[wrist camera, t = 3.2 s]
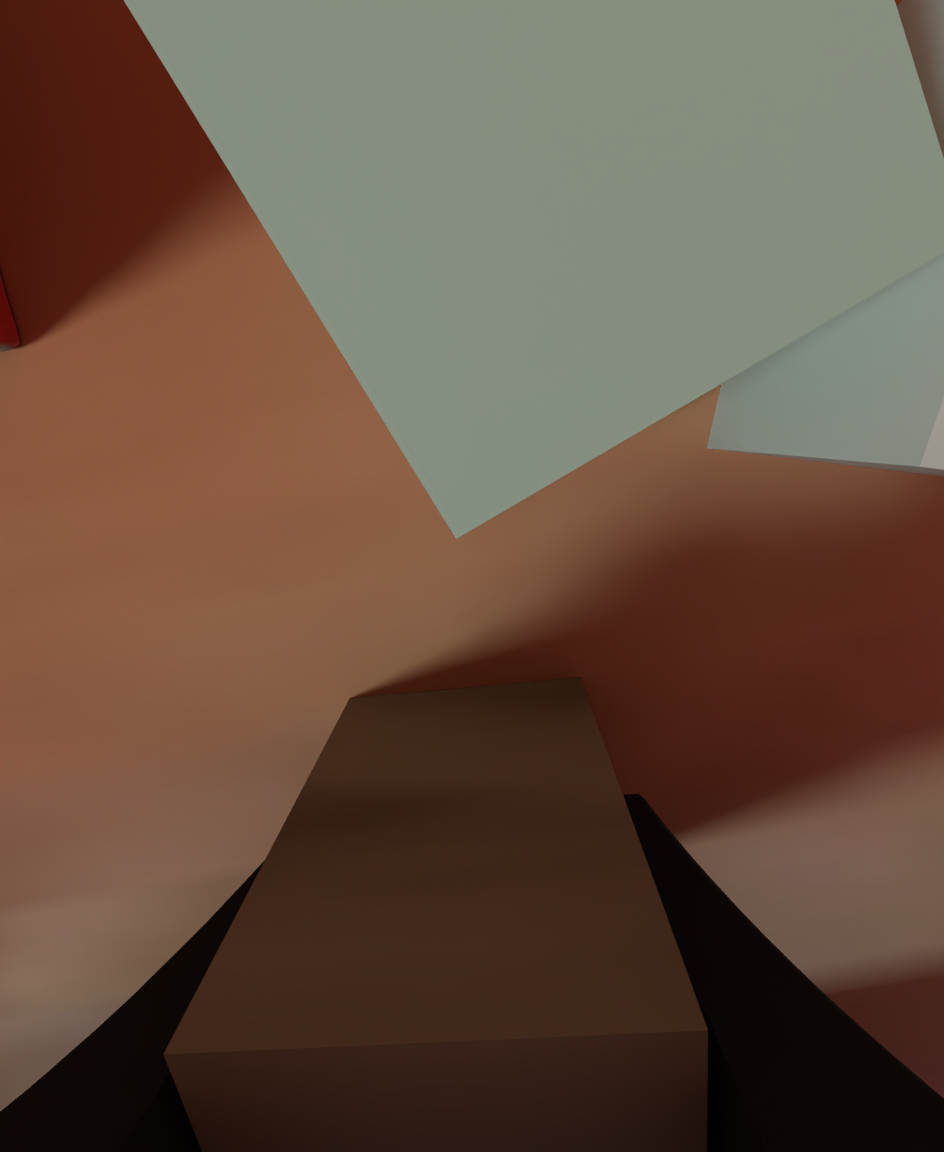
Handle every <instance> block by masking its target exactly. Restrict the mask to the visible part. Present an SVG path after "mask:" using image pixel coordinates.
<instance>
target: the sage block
mask: <svg viewBox="0 0 944 1152" xmlns="http://www.w3.org/2000/svg"><path fill="white" fill-rule="evenodd" d="M124 2H125V3H126V5H127V7H128V8H129V10H130V11H131V13H132V15H133V16H134V18H135V20H136V21H137V23H138V24H139V26H140V28H141V29H142V31H143V32H144V34H145V36H146V37H147V39H148V41H149V42H150V44H151V45H152V47H153V49H154V50H155V52H156V54H157V55H158V57H159V58H160V60H161V62H162V63H163V65H164V67H165V68H166V70H167V71H168V73H169V75H170V76H171V78H172V79H173V81H174V83H175V84H176V86H177V88H178V89H179V91H180V92H181V94H182V96H183V97H184V99H185V101H186V102H187V104H188V105H189V107H190V109H191V110H192V112H193V113H194V115H195V117H196V118H197V120H198V122H199V123H200V125H201V126H202V128H203V130H204V131H205V133H206V135H207V136H208V138H209V139H210V141H211V143H212V144H213V146H214V148H215V149H216V151H217V152H218V154H219V156H220V157H221V159H222V160H223V162H224V164H225V165H226V167H227V169H228V170H229V172H230V173H231V175H232V177H233V178H234V180H235V182H236V183H237V185H238V186H239V188H240V190H241V191H242V193H243V194H244V196H245V198H246V199H247V201H248V203H249V204H250V206H251V207H252V209H253V211H254V212H255V214H256V216H257V217H258V219H259V220H260V222H261V224H262V225H263V227H264V229H265V230H266V232H267V233H268V235H269V237H270V238H271V240H272V241H273V243H274V245H275V246H276V248H277V250H278V251H279V253H280V254H281V256H282V258H283V259H284V261H285V263H286V264H287V266H288V267H289V269H290V271H291V272H292V274H293V275H294V277H295V279H296V280H297V282H298V284H299V285H300V287H301V288H302V290H303V292H304V293H305V295H306V297H307V298H308V300H309V301H310V303H311V305H312V306H313V308H314V309H315V311H316V313H317V314H318V316H319V318H320V319H321V321H322V322H323V324H324V326H325V327H326V329H327V331H328V332H329V334H330V335H331V337H332V339H333V340H334V342H335V344H336V345H337V347H338V348H339V350H340V352H341V353H342V355H343V356H344V358H345V360H346V361H347V363H348V365H349V366H350V368H351V369H352V371H353V373H354V374H355V376H356V378H357V379H358V381H359V382H360V384H361V386H362V387H363V389H364V390H365V392H366V394H367V395H368V397H369V399H370V400H371V402H372V403H373V405H374V407H375V408H376V410H377V412H378V413H379V415H380V416H381V418H382V420H383V421H384V423H385V425H386V426H387V428H388V429H389V431H390V433H391V434H392V436H393V437H394V439H395V441H396V442H397V444H398V446H399V447H400V449H401V450H402V452H403V454H404V455H405V457H406V459H407V460H408V462H409V463H410V465H411V467H412V468H413V470H414V471H415V473H416V475H417V476H418V478H419V480H420V481H421V483H422V484H423V486H424V488H425V489H426V491H427V493H428V494H429V496H430V497H431V499H432V501H433V502H434V504H435V506H436V507H437V509H438V510H439V512H440V514H441V515H442V517H443V518H444V520H445V522H446V523H447V525H448V527H449V528H450V530H451V531H452V533H453V535H454V536H455V538H456V539H457V538H459V537H460V536H462V535H464V534H465V533H467V532H469V531H471V530H472V529H474V528H476V527H477V526H479V525H481V524H482V523H484V522H486V521H488V520H489V519H491V518H493V517H494V516H496V515H498V514H500V513H501V512H503V511H505V510H506V509H508V508H510V507H512V506H513V505H515V504H517V503H518V502H520V501H522V500H523V499H525V498H527V497H529V496H530V495H532V494H534V493H535V492H537V491H539V490H541V489H542V488H544V487H546V486H547V485H549V484H551V483H552V482H554V481H556V480H558V479H559V478H561V477H563V476H564V475H566V474H568V473H570V472H571V471H573V470H575V469H576V468H578V467H580V466H582V465H583V464H585V463H587V462H588V461H590V460H592V459H593V458H595V457H597V456H599V455H600V454H602V453H604V452H605V451H607V450H609V449H611V448H612V447H614V446H616V445H617V444H619V443H621V442H622V441H624V440H626V439H628V438H629V437H631V436H633V435H634V434H636V433H638V432H640V431H641V430H643V429H645V428H646V427H648V426H650V425H652V424H653V423H655V422H657V421H658V420H660V419H662V418H663V417H665V416H667V415H669V414H670V413H672V412H674V411H675V410H677V409H679V408H681V407H682V406H684V405H686V404H687V403H689V402H691V401H693V400H694V399H696V398H698V397H699V396H701V395H703V394H704V393H706V392H708V391H710V390H711V389H713V388H715V387H716V386H718V385H720V384H722V383H723V382H725V381H727V380H728V379H730V378H732V377H733V376H735V375H737V374H739V373H740V372H742V371H744V370H745V369H747V368H749V367H751V366H752V365H754V364H756V363H757V362H759V361H761V360H763V359H764V358H766V357H768V356H769V355H771V354H773V353H774V352H776V351H778V350H780V349H781V348H783V347H785V346H786V345H788V344H790V343H792V342H793V341H795V340H797V339H798V338H800V337H802V336H804V335H805V334H807V333H809V332H810V331H812V330H814V329H815V328H817V327H819V326H821V325H822V324H824V323H826V322H827V321H829V320H831V319H833V318H834V317H836V316H838V315H839V314H841V313H843V312H844V311H846V310H848V309H850V308H851V307H853V306H855V305H856V304H858V303H860V302H862V301H863V300H865V299H867V298H868V297H870V296H872V295H874V294H875V293H877V292H879V291H880V290H882V289H884V288H885V287H887V286H889V285H891V284H892V283H894V282H896V281H897V280H899V279H901V278H903V277H904V276H906V275H908V274H909V273H911V272H913V271H914V270H916V269H918V268H920V267H921V266H923V265H925V264H926V263H928V262H930V261H932V260H933V259H935V258H937V257H938V256H940V255H942V254H944V158H943V155H942V151H941V148H940V145H939V142H938V139H937V135H936V132H935V129H934V126H933V122H932V119H931V116H930V113H929V109H928V106H927V103H926V100H925V97H924V93H923V90H922V87H921V84H920V80H919V77H918V74H917V71H916V67H915V64H914V61H913V58H912V55H911V51H910V48H909V45H908V42H907V38H906V35H905V32H904V29H903V26H902V22H901V19H900V16H899V13H898V9H897V6H896V3H895V0H124Z"/></svg>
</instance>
